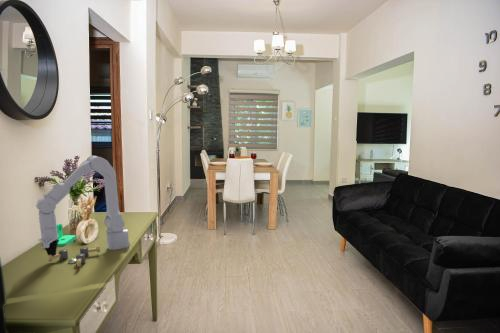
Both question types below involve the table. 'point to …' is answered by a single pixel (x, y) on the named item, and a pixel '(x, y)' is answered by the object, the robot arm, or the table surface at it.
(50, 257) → the knob
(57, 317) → the table surface
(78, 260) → the knob
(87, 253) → the knob
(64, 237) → the camera mount
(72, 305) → the table surface
